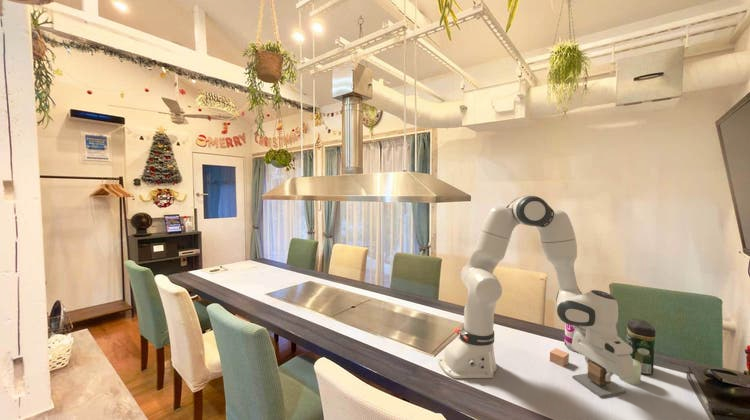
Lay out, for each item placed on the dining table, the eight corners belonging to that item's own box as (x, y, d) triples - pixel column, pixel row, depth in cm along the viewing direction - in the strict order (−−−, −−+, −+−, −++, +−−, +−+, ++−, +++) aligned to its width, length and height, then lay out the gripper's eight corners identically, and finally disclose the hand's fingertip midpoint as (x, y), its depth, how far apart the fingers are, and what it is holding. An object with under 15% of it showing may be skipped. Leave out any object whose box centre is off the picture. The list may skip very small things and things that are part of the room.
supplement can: (576, 354, 128) (578, 319, 127) (559, 344, 136) (561, 312, 135) (591, 351, 130) (593, 317, 129) (574, 342, 138) (575, 310, 137)
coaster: (600, 397, 101) (600, 395, 101) (572, 377, 112) (572, 375, 112) (626, 393, 104) (626, 390, 104) (596, 373, 114) (596, 371, 114)
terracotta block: (562, 367, 119) (563, 357, 119) (549, 361, 123) (549, 351, 123) (568, 363, 122) (569, 353, 121) (555, 357, 126) (555, 348, 126)
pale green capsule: (631, 386, 107) (632, 367, 107) (614, 376, 113) (615, 358, 113) (644, 384, 109) (645, 365, 108) (627, 374, 114) (628, 356, 114)
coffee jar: (623, 359, 124) (625, 315, 123) (648, 365, 120) (651, 319, 119) (628, 371, 116) (631, 324, 115) (655, 378, 112) (658, 329, 111)
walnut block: (599, 385, 105) (600, 369, 105) (587, 377, 109) (588, 361, 109) (609, 383, 106) (610, 367, 106) (597, 376, 110) (598, 360, 110)
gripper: (568, 325, 116) (566, 360, 117) (622, 353, 96) (620, 395, 97) (582, 323, 117) (580, 358, 118) (638, 351, 98) (635, 392, 98)
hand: (598, 375), depth 108 cm, fingers closed on walnut block, 4 cm apart
